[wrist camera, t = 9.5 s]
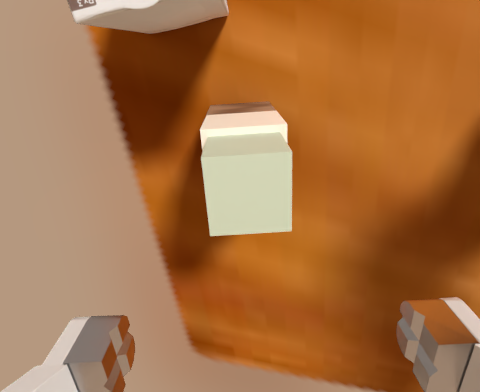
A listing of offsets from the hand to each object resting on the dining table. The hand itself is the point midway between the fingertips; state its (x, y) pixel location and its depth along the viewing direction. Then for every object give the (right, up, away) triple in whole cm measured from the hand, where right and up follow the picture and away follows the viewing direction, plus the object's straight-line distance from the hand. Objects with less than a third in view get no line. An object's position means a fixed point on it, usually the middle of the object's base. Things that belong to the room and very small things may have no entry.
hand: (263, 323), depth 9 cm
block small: (0, +6, +13) cm, 15 cm away
